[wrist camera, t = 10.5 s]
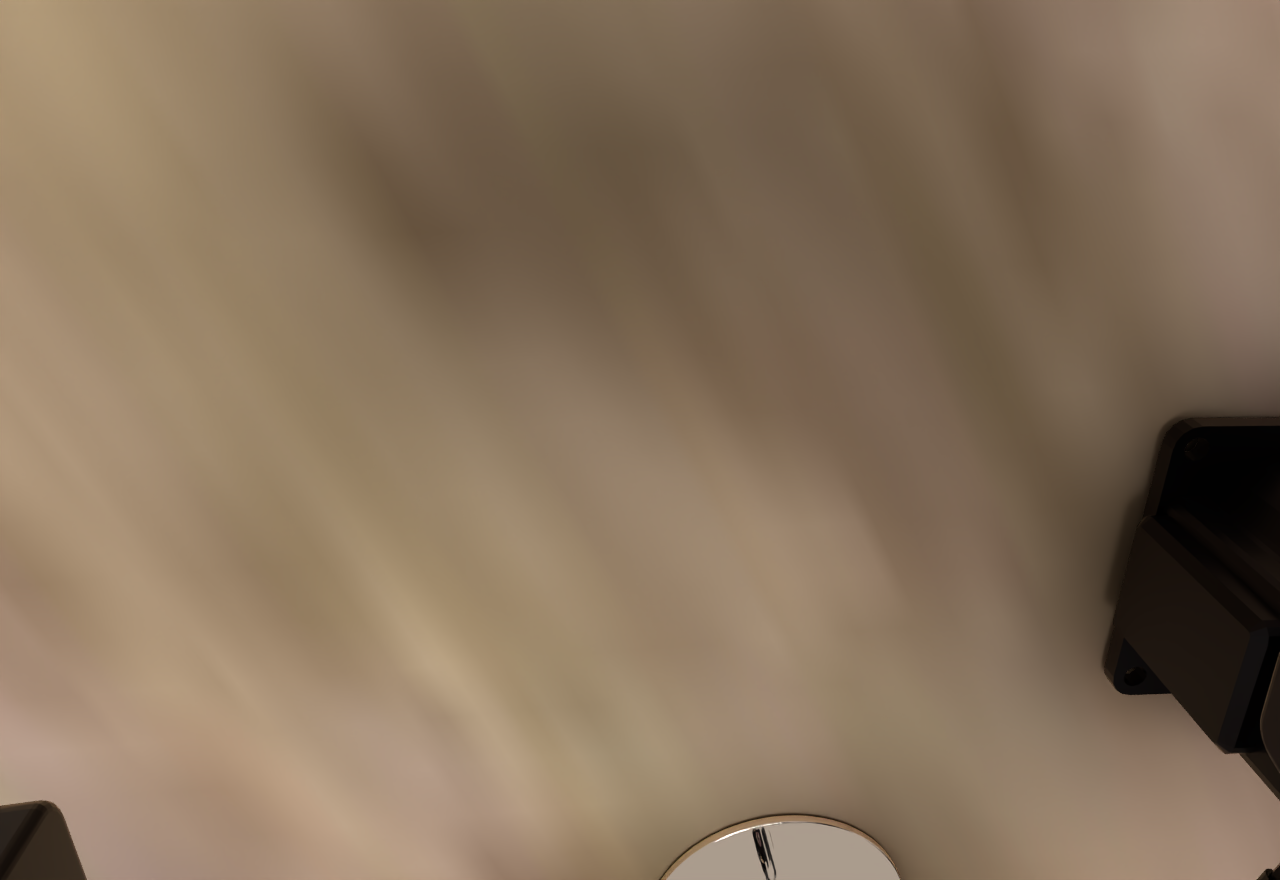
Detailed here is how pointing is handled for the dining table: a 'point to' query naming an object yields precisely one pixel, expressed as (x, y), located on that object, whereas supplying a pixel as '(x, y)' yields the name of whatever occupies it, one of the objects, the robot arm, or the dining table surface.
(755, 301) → the dining table surface
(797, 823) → the wineglass
